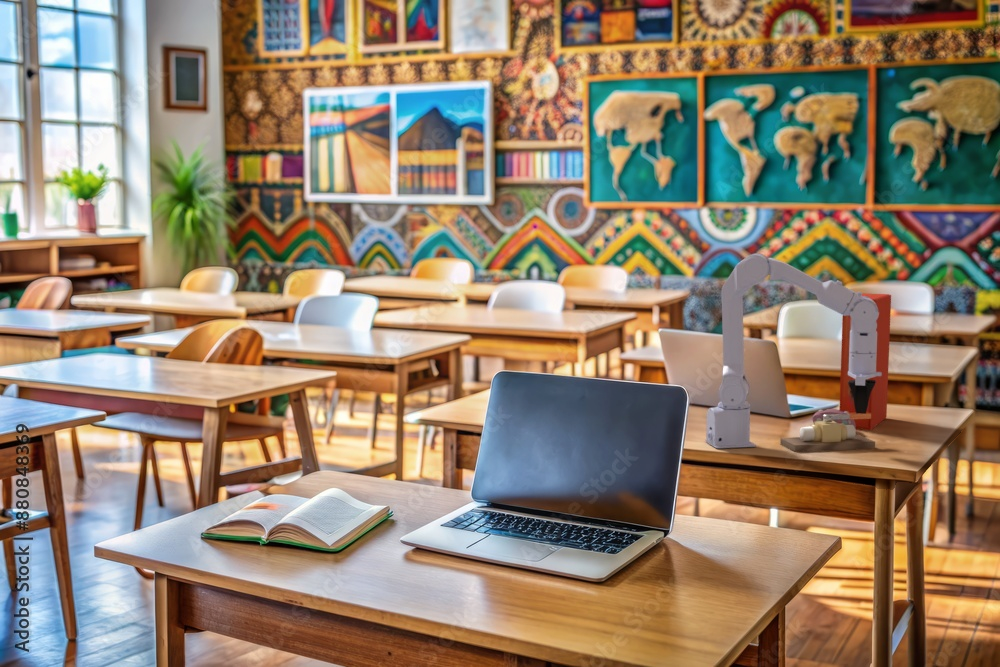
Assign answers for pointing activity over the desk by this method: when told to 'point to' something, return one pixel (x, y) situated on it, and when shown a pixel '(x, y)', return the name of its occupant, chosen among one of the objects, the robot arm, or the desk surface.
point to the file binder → (879, 391)
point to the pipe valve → (827, 432)
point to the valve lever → (846, 416)
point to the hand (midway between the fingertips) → (861, 412)
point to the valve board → (827, 444)
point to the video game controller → (819, 417)
